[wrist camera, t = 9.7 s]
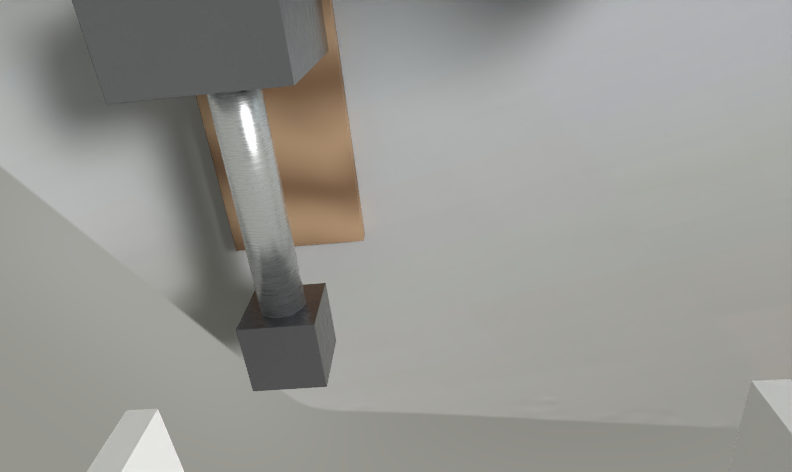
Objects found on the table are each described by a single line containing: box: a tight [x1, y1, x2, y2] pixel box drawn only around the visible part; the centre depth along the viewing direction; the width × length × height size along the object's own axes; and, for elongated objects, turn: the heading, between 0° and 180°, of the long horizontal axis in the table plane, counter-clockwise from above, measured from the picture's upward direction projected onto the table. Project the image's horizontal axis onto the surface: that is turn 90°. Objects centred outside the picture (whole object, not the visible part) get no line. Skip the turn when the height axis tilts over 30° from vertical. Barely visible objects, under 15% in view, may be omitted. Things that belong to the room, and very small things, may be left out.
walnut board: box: [196, 0, 365, 251], centre depth 37 cm, size 26×10×1 cm, turn 6°
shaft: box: [207, 89, 336, 391], centre depth 33 cm, size 25×5×5 cm, turn 6°
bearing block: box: [72, 0, 329, 104], centre depth 29 cm, size 6×9×12 cm, turn 96°
